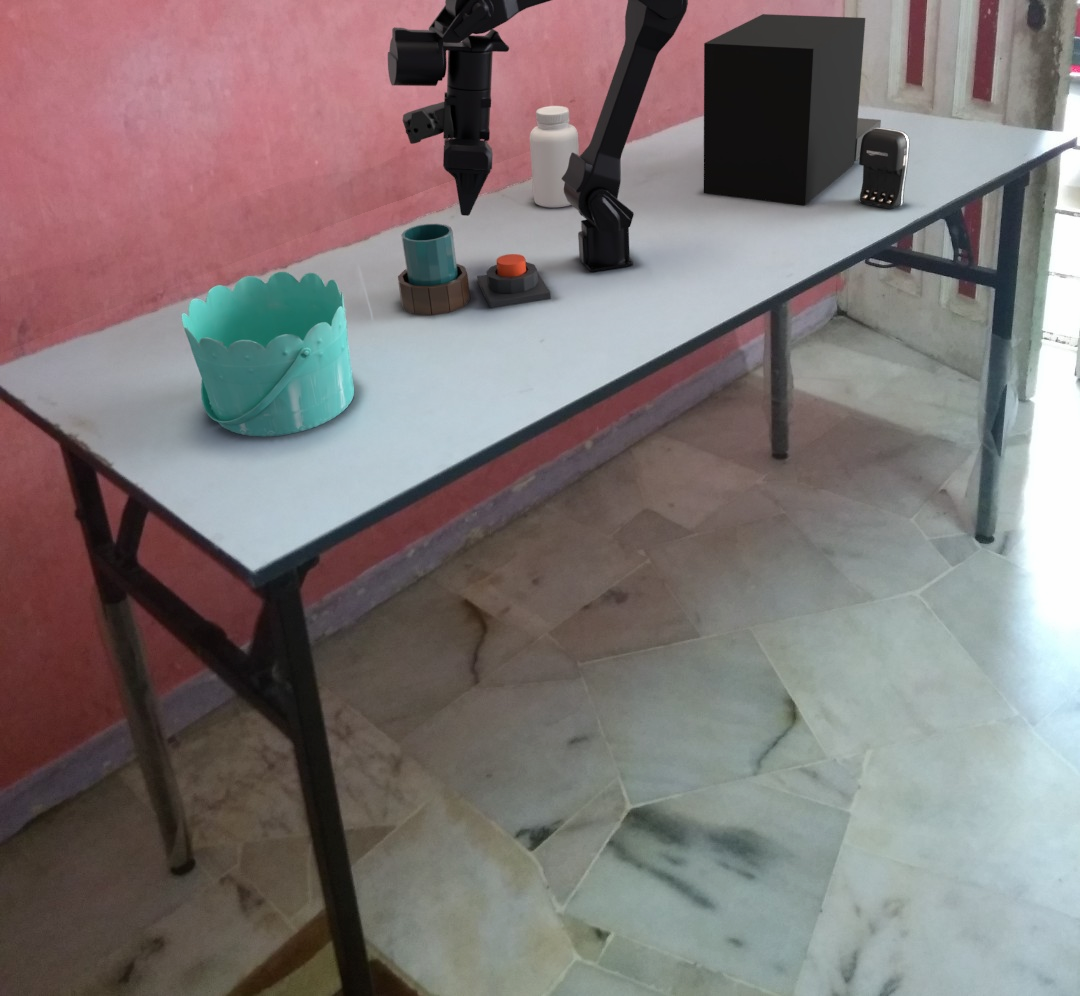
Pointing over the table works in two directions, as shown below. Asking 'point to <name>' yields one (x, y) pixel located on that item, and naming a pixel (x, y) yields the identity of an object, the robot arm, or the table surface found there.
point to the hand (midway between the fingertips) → (464, 205)
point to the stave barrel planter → (435, 295)
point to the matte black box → (783, 107)
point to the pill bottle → (551, 154)
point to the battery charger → (884, 167)
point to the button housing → (513, 287)
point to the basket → (272, 354)
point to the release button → (511, 265)
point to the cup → (429, 254)
